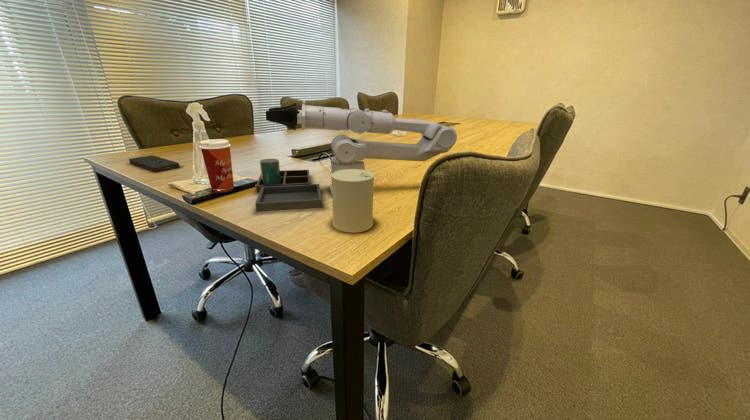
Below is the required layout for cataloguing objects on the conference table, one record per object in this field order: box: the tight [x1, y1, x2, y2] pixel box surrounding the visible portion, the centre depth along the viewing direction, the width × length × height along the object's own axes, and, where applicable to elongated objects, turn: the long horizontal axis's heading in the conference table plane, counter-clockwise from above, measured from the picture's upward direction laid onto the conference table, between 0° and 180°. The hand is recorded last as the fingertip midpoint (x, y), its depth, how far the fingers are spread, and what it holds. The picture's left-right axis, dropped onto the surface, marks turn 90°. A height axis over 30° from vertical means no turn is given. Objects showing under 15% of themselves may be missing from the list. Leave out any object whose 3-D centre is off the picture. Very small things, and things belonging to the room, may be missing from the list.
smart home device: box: [128, 154, 181, 173], centre depth 109 cm, size 8×2×20 cm
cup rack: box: [255, 169, 311, 194], centre depth 92 cm, size 15×15×2 cm
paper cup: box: [198, 138, 235, 194], centre depth 84 cm, size 8×8×14 cm
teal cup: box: [259, 158, 281, 185], centre depth 87 cm, size 5×5×8 cm
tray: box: [255, 183, 323, 213], centre depth 79 cm, size 16×13×2 cm
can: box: [330, 169, 375, 234], centre depth 66 cm, size 9×9×12 cm
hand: (267, 113), depth 76 cm, fingers open, 7 cm apart
